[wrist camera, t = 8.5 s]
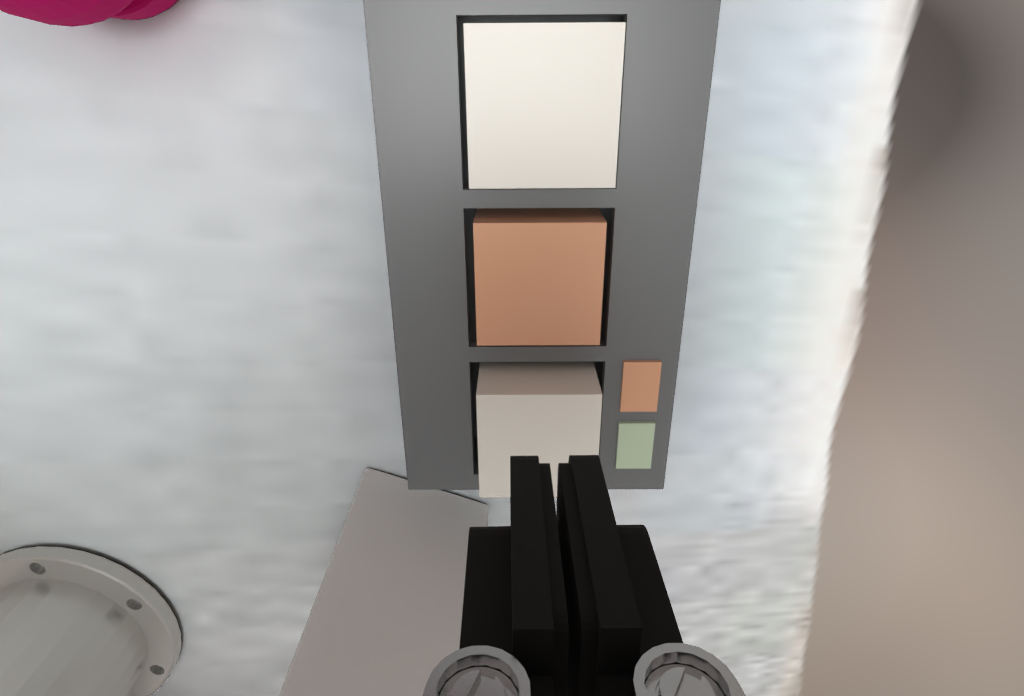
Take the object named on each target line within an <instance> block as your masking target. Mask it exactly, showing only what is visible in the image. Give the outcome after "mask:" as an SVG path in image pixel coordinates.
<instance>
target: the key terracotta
mask: <svg viewBox="0 0 1024 696" xmlns="http://www.w3.org/2000/svg"><path fill="white" fill-rule="evenodd" d="M606 230H607V222H606V220H605V219H604V217H603V216H602V214H601V212H600V211H599V209H598V208H477V211H476V214H475V218H474V221H473V239H474V270H475V301H476V332H477V346H489V345H600V332H601V315H602V298H603V281H604V264H605V247H606Z"/></svg>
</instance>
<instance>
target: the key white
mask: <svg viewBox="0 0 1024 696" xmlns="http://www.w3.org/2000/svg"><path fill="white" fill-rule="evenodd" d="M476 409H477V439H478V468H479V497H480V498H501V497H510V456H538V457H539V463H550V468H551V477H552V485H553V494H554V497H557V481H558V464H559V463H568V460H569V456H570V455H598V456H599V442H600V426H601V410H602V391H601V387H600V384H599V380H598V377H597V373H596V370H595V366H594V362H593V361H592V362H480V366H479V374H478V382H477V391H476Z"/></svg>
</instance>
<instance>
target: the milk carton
mask: <svg viewBox="0 0 1024 696" xmlns="http://www.w3.org/2000/svg"><path fill="white" fill-rule="evenodd" d="M470 527H488V506H487V505H485V504H483V503H480V502H477V501H474V500H471V499H467V498H464V497H461V496H458V495H454V494H451V493H448V492H445V491H442V490H408V480H406V479H403V478H400V477H396V476H393V475H390V474H387V473H383V472H380V471H377V470H373V469H369V468H367V469H365V471H364V473H363V475H362V478H361V481H360V483H359V486H358V489H357V491H356V494H355V496H354V499H353V502H352V504H351V507H350V510H349V512H348V515H347V518H346V520H345V523H344V525H343V528H342V531H341V533H340V536H339V539H338V541H337V544H336V546H335V549H334V552H333V554H332V557H331V560H330V562H329V565H328V568H327V570H326V573H325V575H324V578H323V581H322V583H321V586H320V589H319V591H318V594H317V597H316V599H315V602H314V604H313V607H312V610H311V612H310V615H309V618H308V620H307V623H306V626H305V628H304V631H303V633H302V636H301V639H300V641H299V644H298V647H297V649H296V652H295V654H294V657H293V660H292V662H291V665H290V668H289V670H288V673H287V676H286V678H285V681H284V683H283V686H282V689H281V691H280V694H279V696H423V692H424V689H425V686H426V683H427V681H428V679H429V676H430V674H431V672H432V670H433V669H434V668H435V667H436V666H437V665H438V664H439V662H440V661H441V660H442V659H443V658H445V657H446V656H448V655H450V654H451V653H453V652H454V651H456V650H459V647H460V635H461V622H462V610H463V598H464V585H465V573H466V561H467V548H468V536H469V528H470Z"/></svg>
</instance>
